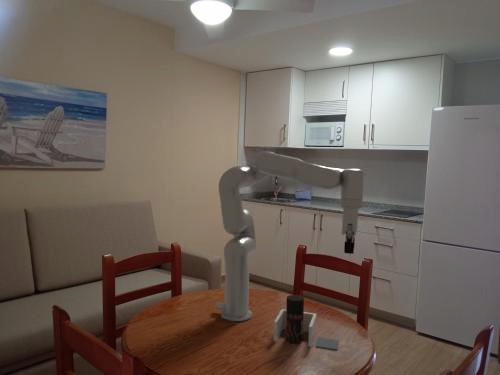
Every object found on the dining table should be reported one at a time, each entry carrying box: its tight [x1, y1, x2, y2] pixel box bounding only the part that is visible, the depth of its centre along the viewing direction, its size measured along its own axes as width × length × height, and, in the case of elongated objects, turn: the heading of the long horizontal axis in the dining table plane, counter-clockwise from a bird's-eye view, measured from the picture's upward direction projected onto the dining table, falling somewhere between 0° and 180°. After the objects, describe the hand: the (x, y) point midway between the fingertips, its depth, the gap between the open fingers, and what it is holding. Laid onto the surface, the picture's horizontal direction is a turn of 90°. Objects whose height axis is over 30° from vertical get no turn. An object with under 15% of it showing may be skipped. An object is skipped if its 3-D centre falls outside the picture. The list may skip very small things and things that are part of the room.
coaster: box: [315, 336, 340, 351], centre depth 134 cm, size 7×7×1 cm
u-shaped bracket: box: [273, 308, 317, 348], centre depth 139 cm, size 13×12×7 cm
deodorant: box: [285, 294, 305, 345], centre depth 136 cm, size 6×6×15 cm
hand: (349, 250), depth 141 cm, fingers open, 9 cm apart
